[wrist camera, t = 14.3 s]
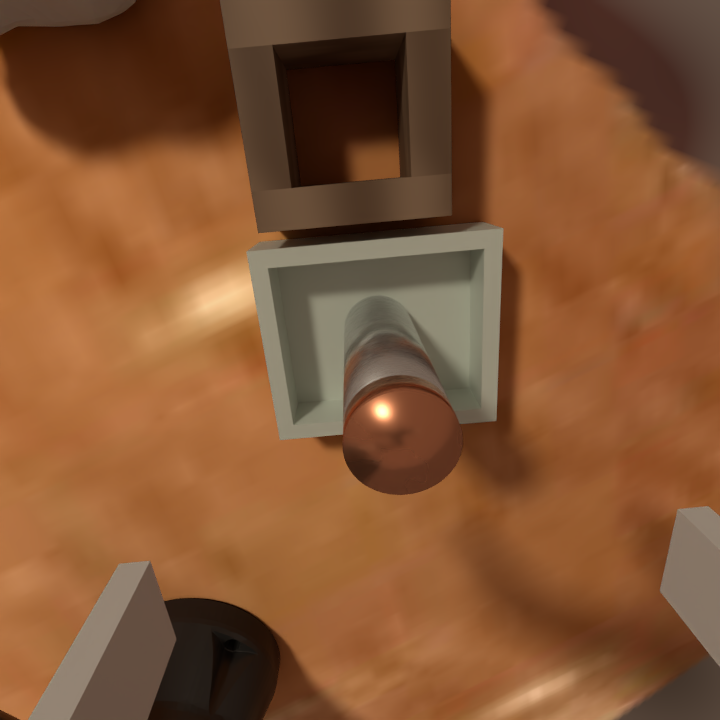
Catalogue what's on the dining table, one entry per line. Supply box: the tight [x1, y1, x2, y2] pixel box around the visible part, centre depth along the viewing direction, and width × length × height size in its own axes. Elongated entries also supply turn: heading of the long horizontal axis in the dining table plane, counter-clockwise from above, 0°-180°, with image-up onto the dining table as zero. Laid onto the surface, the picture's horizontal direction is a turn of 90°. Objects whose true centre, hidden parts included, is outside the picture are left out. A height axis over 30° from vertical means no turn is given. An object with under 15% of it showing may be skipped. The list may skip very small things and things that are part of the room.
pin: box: [343, 295, 463, 495], centre depth 23 cm, size 4×4×14 cm
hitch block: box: [220, 0, 452, 233], centre depth 23 cm, size 10×10×5 cm
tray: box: [247, 222, 503, 440], centre depth 28 cm, size 14×12×4 cm
